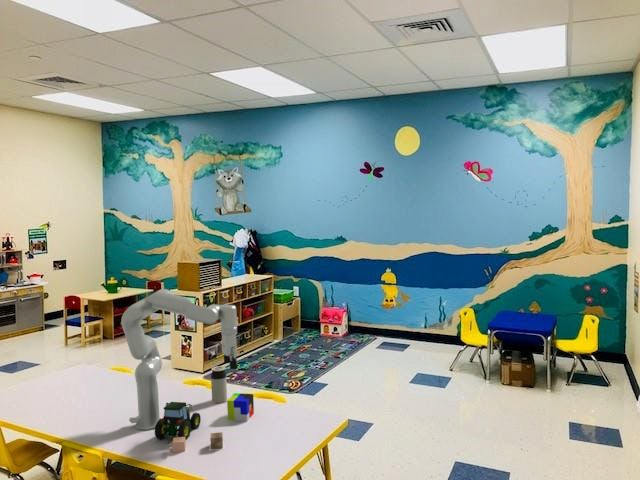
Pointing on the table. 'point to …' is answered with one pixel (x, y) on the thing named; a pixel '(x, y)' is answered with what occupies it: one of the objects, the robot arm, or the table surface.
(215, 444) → the walnut block
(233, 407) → the puzzle toy
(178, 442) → the terracotta block
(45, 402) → the table surface
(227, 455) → the table surface
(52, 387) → the table surface
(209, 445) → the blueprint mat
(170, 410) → the toy tractor
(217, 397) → the travel mug
